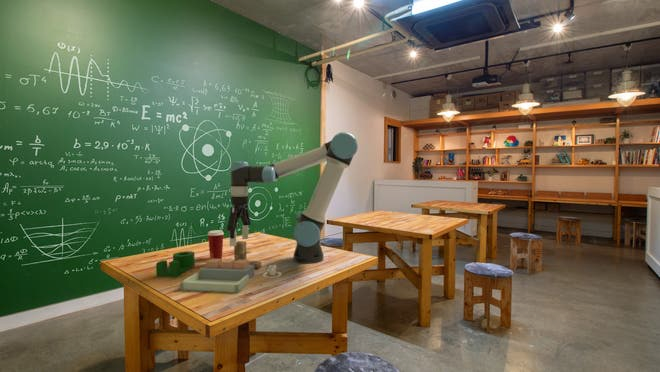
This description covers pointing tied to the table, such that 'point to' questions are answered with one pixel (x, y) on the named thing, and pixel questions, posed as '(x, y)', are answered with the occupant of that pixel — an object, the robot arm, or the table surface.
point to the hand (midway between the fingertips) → (239, 242)
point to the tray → (213, 284)
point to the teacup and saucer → (272, 271)
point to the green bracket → (176, 265)
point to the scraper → (244, 254)
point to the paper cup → (215, 244)
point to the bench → (225, 273)
